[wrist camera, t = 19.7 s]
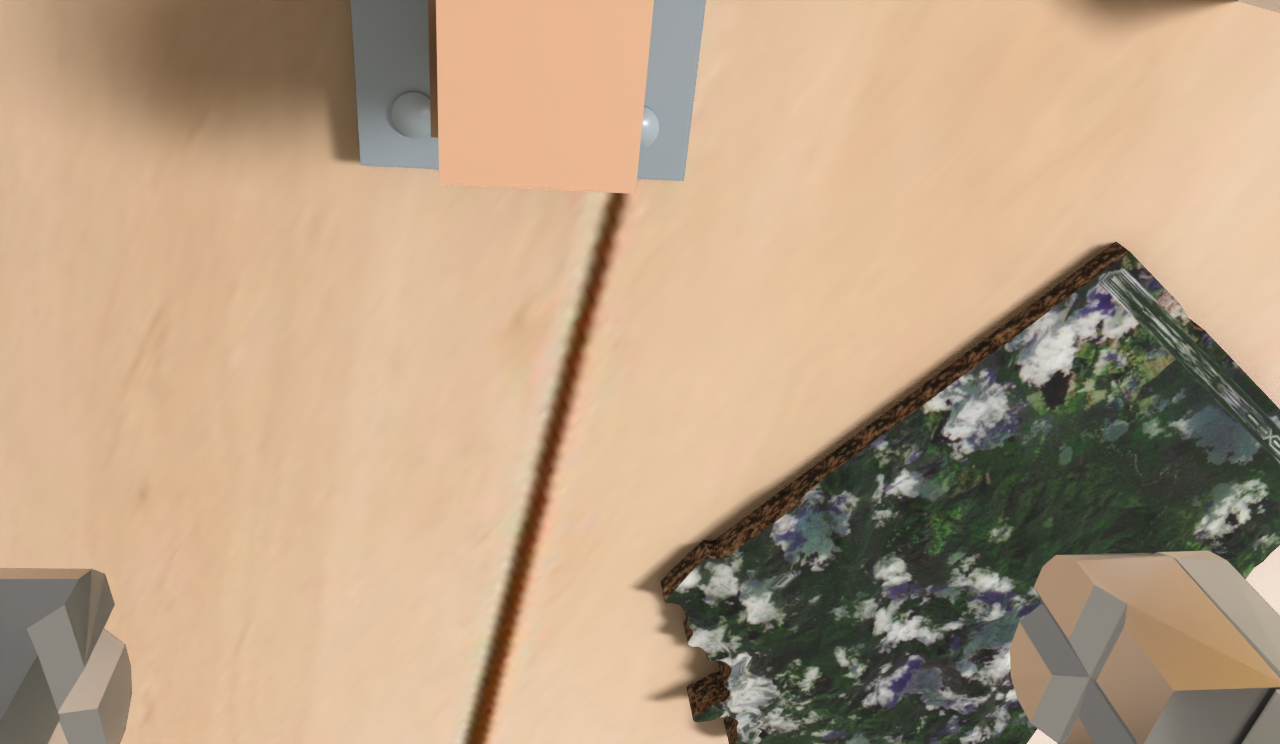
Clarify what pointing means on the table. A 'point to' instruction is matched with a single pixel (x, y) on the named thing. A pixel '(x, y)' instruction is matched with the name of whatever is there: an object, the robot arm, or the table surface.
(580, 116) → the block
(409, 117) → the plate
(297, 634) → the table surface
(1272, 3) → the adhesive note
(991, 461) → the topographical map
